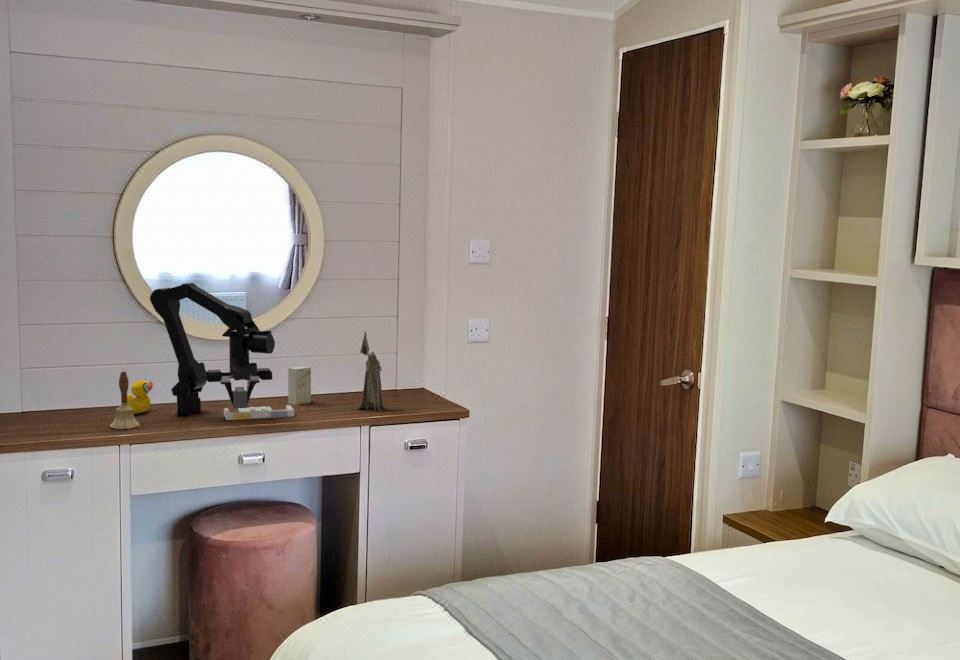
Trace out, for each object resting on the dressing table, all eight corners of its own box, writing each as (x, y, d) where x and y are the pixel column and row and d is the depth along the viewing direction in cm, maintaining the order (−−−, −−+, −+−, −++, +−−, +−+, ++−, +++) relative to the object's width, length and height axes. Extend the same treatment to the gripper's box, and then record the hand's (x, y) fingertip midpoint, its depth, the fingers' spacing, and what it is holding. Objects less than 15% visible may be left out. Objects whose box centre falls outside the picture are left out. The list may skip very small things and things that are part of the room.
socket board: (227, 424, 276) (227, 415, 276) (223, 416, 286) (223, 408, 286) (295, 420, 283) (295, 412, 283) (290, 413, 293) (290, 405, 293)
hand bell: (145, 426, 271) (144, 371, 269) (118, 431, 265) (116, 375, 263) (131, 422, 276) (129, 368, 274) (103, 426, 270) (102, 371, 268)
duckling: (145, 408, 295) (144, 377, 294) (159, 410, 293) (158, 378, 292) (118, 415, 285) (117, 382, 283) (132, 417, 282) (132, 384, 281)
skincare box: (296, 406, 303) (296, 369, 301) (287, 405, 305) (287, 367, 304) (311, 404, 308) (311, 367, 306) (302, 402, 310) (302, 365, 309)
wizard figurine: (358, 413, 295) (358, 333, 292) (350, 407, 303) (350, 330, 300) (389, 410, 300) (390, 332, 297) (380, 405, 307) (381, 329, 304)
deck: (240, 414, 289) (240, 412, 289) (237, 410, 296) (237, 408, 296) (273, 412, 293) (273, 410, 293) (270, 408, 299) (270, 406, 299)
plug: (233, 408, 282) (233, 388, 281) (232, 405, 285) (232, 386, 285) (247, 407, 283) (247, 388, 282) (245, 405, 287) (245, 385, 286)
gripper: (209, 356, 272) (209, 410, 273) (274, 354, 278) (275, 407, 280) (206, 351, 282) (206, 402, 284) (269, 349, 288) (269, 399, 290)
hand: (239, 403), depth 284 cm, fingers closed on plug, 4 cm apart
